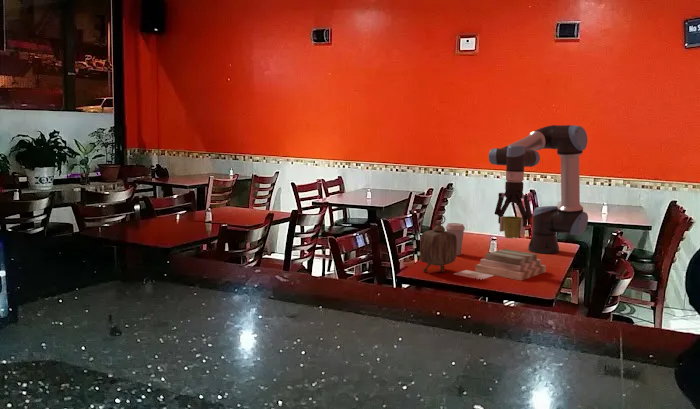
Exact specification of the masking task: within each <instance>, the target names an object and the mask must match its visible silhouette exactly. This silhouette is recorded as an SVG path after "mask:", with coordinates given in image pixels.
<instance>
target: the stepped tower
mask: <svg viewBox="0 0 700 409" xmlns="http://www.w3.org/2000/svg"><path fill="white" fill-rule="evenodd" d="M537 257H538V253H534V252H533V253H531V252H525V251H519V250H513V249H507V248H502V249H499V250H496V251H492V252H491V251H490V252H487V253H485V255H484V258H480V262H479V263H477V264H475V266H474V267H475V269H474V272H479V273H484V274H489V275H494V276H495V277H501V278H505V279H511V280H517V281H523V280H524V281H525V280H527V279H529V278H532V277H535V276H538V275H541V274H543V273H546V270H547V268H546V267H547V266H546V264H542V259H539V258H537Z"/></svg>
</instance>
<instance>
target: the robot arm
mask: <svg viewBox="0 0 700 409" xmlns="http://www.w3.org/2000/svg"><path fill="white" fill-rule="evenodd" d="M587 144H588V135H587V131H586V129H585V128H584V127H583V126H581V125H574V124H571V125H570V124H566V125H565V124H564V125H561V124H560V125H559V124H558V125H557V124H554V125H553V124H551V125H546V126H543V127H540V128H538V129H535V130H534V131H531V132H529V134H528V135H527V136H525V137H522V138H521V139H519V140H517V141H514V142H512V143H510V144H508V145H506V146H504V147H501V148H499V147H497V148H492V149H490V150H489V152H488V162H489V163H490V164H491V165H493V166H494V165H496V166H506V168H505V180H506V181H505V186H504V188H505V192H498V193H497V194H498V196H497V197H498V199H497V203H496V206H495V210H494V215H497V217H498V224H499V232H501V233H502V232H504V223H503V219H502V217H506V216H505V213H506V212H507V209H508V207H509V205H510V204H512V203H513V204H515V205H516V206H517V208H518V210H519V213H520V215H521V217H522V218H523V219H521V230H520V235H526V228H527V227H528V219H533V220H532V236H531V238H530V241H529V243H528V251H529V252H533V253H536V254H538V253H539V254H557V253H559V252H560V246H559V243H558V242H559V241H558V239H557V234H558V233H560V234H567V235H571V236H573V235H575V236H579V235H582V234H583V233H584V231H586V229H587V227H588V222H589V215H588V213H587V212H585V211H584V207H583V205H581V202H580V200H581V198H580V197H581V196H580V195H581V194H580V193H581V190H580V189H581V188H580V185H581V184H580V183H581V182H580V156H581V155H582V154H583V152H584V150H585V149H586V148H587V146H588V145H587ZM543 149H544V150H545V149H550V150H556V152H557V153H556V154H557V156H559V157H560V193H561V194H560V196H561V204H560V205H559V206H558V205H545V206H537V207H535V208H534V209H533V214H532V210H531V203H530V197H531V196H530V195H529V194H524V192H523V191H524V182H523V181H525V180H524V178H525V177H524V176H525V168H527V167H528V168H529V167H530V168H531V167H535V166H536V165H538V164H539V163H540V160H541V155H540V153H539V151H540V150H543ZM505 198H506V199H505ZM504 199H505V201H504ZM522 199H523V201H522ZM523 204H524V205H523Z"/></svg>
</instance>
